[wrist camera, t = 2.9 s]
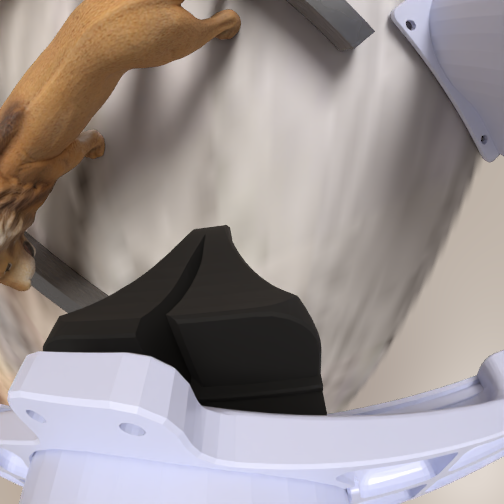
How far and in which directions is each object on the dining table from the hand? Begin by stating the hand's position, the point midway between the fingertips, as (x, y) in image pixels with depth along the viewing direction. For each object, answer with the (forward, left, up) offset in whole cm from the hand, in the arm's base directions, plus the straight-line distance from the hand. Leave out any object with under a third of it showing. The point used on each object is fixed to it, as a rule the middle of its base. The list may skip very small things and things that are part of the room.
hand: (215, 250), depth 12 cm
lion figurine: (+7, -1, -4) cm, 8 cm away
